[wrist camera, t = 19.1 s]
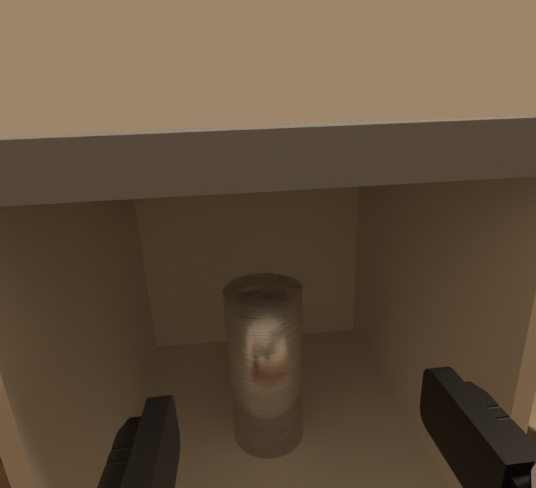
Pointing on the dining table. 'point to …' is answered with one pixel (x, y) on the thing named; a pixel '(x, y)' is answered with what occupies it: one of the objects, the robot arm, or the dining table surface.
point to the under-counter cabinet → (254, 262)
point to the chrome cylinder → (265, 362)
